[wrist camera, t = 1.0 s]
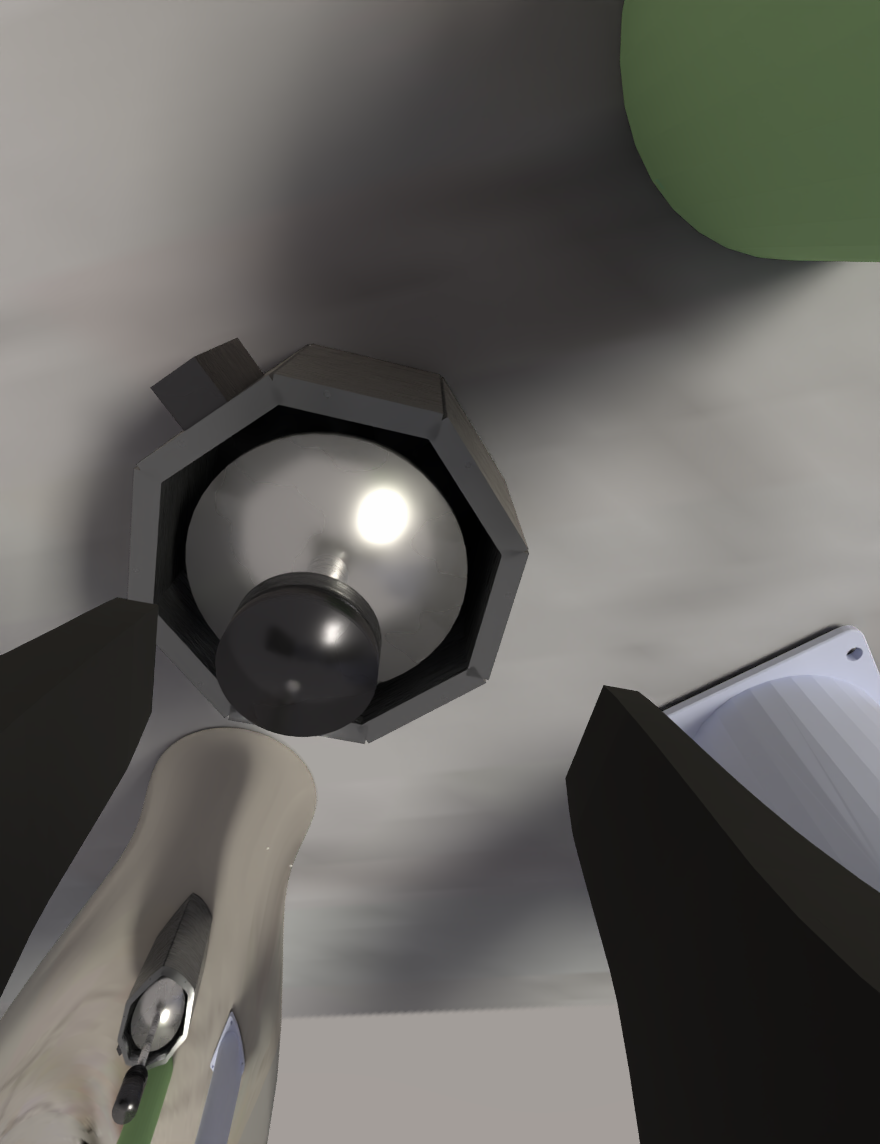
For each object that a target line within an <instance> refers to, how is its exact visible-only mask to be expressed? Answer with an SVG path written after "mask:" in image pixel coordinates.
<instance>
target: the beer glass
mask: <svg viewBox="0 0 880 1144" xmlns="http://www.w3.org/2000/svg"><path fill="white" fill-rule="evenodd" d="M316 802H317V796H316V788H315V783H314V780H313V778H312V775H311V773H310V771H309V769H308V768H307V766H306V765H305V764H304V762H303V761H302V760H301V759H300V758H299V757H298V756H297V755H296V754H295V753H294V752H293V751H292V750H291V749H289V748H288V747H287V746H285V745H284V744H282V743H280V742H279V741H277V740H275V739H273V738H271V737H269V736H266V735H264V734H261V733H258V732H254V731H251V730H246V729H240V728H211V729H206V730H201V731H198V732H195V733H192V734H189V735H187V736H185V737H183V738H181V739H179V740H178V741H176V742H175V743H174V744H172V745H171V746H170V747H169V748H168V749H167V750H166V751H165V752H164V753H163V754H162V755H161V757H160V758H159V760H158V761H157V763H156V765H155V767H154V769H153V772H152V774H151V777H150V781H149V784H148V788H147V792H146V796H145V800H144V804H143V808H142V811H141V815H140V818H139V821H138V824H137V827H136V829H135V831H134V833H133V835H132V838H131V840H130V842H129V843H128V845H127V847H126V848H125V850H124V852H123V854H122V855H121V857H120V859H119V860H118V861H117V863H116V864H115V866H114V867H113V868H112V870H111V871H110V872H109V874H108V875H107V876H106V878H105V879H104V881H103V882H102V883H101V885H100V886H99V887H98V889H97V890H96V891H95V892H94V894H93V895H92V896H91V898H90V899H89V900H88V901H87V903H86V904H85V905H84V906H83V908H82V909H81V910H80V912H79V913H78V914H77V915H76V917H75V918H74V919H73V921H72V922H71V923H70V924H69V926H68V927H67V928H66V930H65V931H64V932H63V934H62V935H61V936H60V938H59V939H58V940H57V941H56V943H55V944H54V945H53V947H52V948H51V949H50V951H49V952H48V953H47V955H46V956H45V957H44V959H43V960H42V961H41V962H40V964H39V965H38V966H37V968H36V969H35V971H34V972H33V974H32V975H31V976H30V978H29V979H28V981H27V982H26V984H25V985H24V986H23V988H22V989H21V991H20V992H19V994H18V995H17V996H16V998H15V999H14V1001H13V1002H12V1004H11V1005H10V1006H9V1008H8V1009H7V1011H6V1012H5V1014H4V1015H3V1016H2V1018H1V1019H0V1144H267V1141H268V1134H269V1128H270V1121H271V1115H272V1108H273V1101H274V1095H275V1089H276V1082H277V1073H278V1060H279V1047H280V1032H281V1018H282V984H283V933H284V911H285V899H286V892H287V886H288V880H289V877H290V873H291V869H292V866H293V863H294V861H295V858H296V855H297V853H298V851H299V849H300V847H301V845H302V842H303V840H304V838H305V836H306V834H307V832H308V829H309V827H310V825H311V822H312V820H313V817H314V813H315V809H316Z"/></svg>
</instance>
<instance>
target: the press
mask: <svg viewBox="0 0 880 1144" xmlns="http://www.w3.org/2000/svg"><path fill="white" fill-rule="evenodd" d="M151 389H152V390H153V392H154V393H155V394H156V395H157V397H158V398H159V399H160V401H161V402H162V403H163V404H164V406H165V407H166V408H167V409H168V411H169V412H170V413H171V415H172V416H173V417H174V418H175V420H176V421H177V422H178V423H179V425H180V426H181V427H182V429H183V431H182V432H180V433H179V434H178V435H176V436H175V437H173V438H172V439H171V440H169V441H168V442H167V443H165V444H164V445H162V446H161V447H160V448H158V449H157V450H155V451H154V452H153V453H151V454H150V455H149V456H147V457H146V458H144V459H143V460H142V461H140V462H139V463H138V464H136V465H137V467H136V468H134V474H133V494H132V514H131V534H130V555H129V575H128V595H127V599H129V600H134V601H140V602H145V603H151V604H156V605H159V606H158V621H157V636H156V645H157V646H158V647H159V648H160V649H161V650H162V651H163V652H164V653H165V655H166V656H167V657H168V658H169V659H170V660H171V661H172V662H173V663H174V664H175V665H176V666H177V667H178V668H179V670H180V671H181V672H182V673H183V674H184V675H185V676H186V677H187V678H188V679H189V680H190V681H191V682H192V683H193V685H194V686H195V687H196V688H197V689H198V690H199V691H200V692H201V693H202V694H203V695H204V696H205V697H206V698H207V700H208V701H209V702H210V703H211V704H212V705H213V706H214V707H215V708H216V709H217V710H218V711H219V712H220V714H221V715H222V716H223V717H224V718H225V717H227V716H229V720H232V721H238V722H243V723H249V724H254V723H252V722H250V721H249V720H247V719H246V718H245V717H243V716H242V715H241V714H240V713H239V712H238V711H236V710H235V709H234V708H233V706H232V705H231V704H230V703H229V701H228V700H227V699H226V697H225V695H224V694H223V692H222V690H221V688H220V685H219V683H218V679H217V676H216V669H215V657H216V652H217V647H218V645H219V642H220V639H219V638H218V637H217V636H216V634H215V633H214V632H213V630H212V629H211V628H210V627H209V625H208V624H207V622H206V621H205V619H204V617H203V615H202V614H201V612H200V610H199V608H198V606H197V604H196V601H195V599H194V597H193V594H192V591H191V587H190V584H189V580H188V575H187V568H186V541H187V534H188V528H189V525H190V522H191V519H192V516H193V513H194V510H195V508H196V506H197V504H198V502H199V500H200V498H201V496H202V495H203V493H204V492H205V491H206V489H207V488H208V486H209V485H210V484H211V482H212V481H213V480H214V479H215V478H216V477H217V476H218V475H219V474H220V473H221V472H222V471H223V470H224V469H225V468H226V467H227V465H228V464H230V463H231V462H232V461H233V460H235V459H236V458H237V457H239V456H240V455H241V454H243V453H244V452H246V451H248V450H249V449H251V448H253V447H255V446H257V445H258V444H260V443H263V442H266V441H268V440H271V439H273V438H276V437H280V436H284V435H288V434H292V433H297V432H308V431H336V432H342V433H348V434H354V435H358V436H361V437H364V438H368V439H371V440H374V441H376V442H379V443H381V444H383V445H386V446H388V447H390V448H392V449H394V450H395V451H397V452H399V453H400V454H402V455H404V456H405V457H407V458H409V459H410V460H411V461H412V462H414V463H415V464H416V465H417V466H419V467H420V468H421V469H422V470H424V472H425V473H426V474H427V475H428V476H429V477H430V478H431V479H432V480H433V481H434V482H435V483H436V484H437V485H438V487H439V488H440V489H441V491H442V492H443V493H444V495H445V496H446V497H447V499H448V501H449V503H450V505H451V506H452V508H453V510H454V512H455V514H456V516H457V519H458V522H459V524H460V527H461V530H462V534H463V538H464V543H465V548H466V557H467V585H466V590H465V595H464V600H463V603H462V606H461V609H460V611H459V614H458V617H457V619H456V620H455V622H454V624H453V626H452V628H451V630H450V631H449V633H448V634H447V635H446V637H445V638H444V640H443V641H442V642H441V644H440V645H439V646H438V647H437V648H436V649H435V650H434V651H433V652H432V653H431V654H430V655H429V656H428V657H426V658H425V659H424V660H423V661H421V662H420V663H419V664H418V665H416V666H414V667H413V668H411V669H410V670H408V671H406V672H405V673H403V674H401V675H399V676H396V677H394V678H392V679H390V680H387V681H384V682H381V683H378V684H377V686H376V690H375V693H374V696H373V698H372V700H371V702H370V703H369V705H368V706H367V708H366V709H365V710H364V711H363V713H362V714H361V715H360V716H359V717H358V718H356V719H355V720H354V721H353V722H351V723H350V724H348V725H346V726H345V727H343V728H341V729H339V730H336V731H334V732H331V733H327V734H323V735H318V736H323V737H328V738H334V739H340V740H345V741H351V742H357V743H362V744H365V740H367V742H368V743H370V742H372V741H374V740H376V739H378V738H380V737H382V736H384V735H386V734H388V733H390V732H392V731H394V730H396V729H398V728H400V727H402V726H403V725H405V724H407V723H409V722H411V721H413V720H415V719H417V718H419V717H421V716H423V715H425V714H427V713H429V712H431V711H433V710H434V709H436V708H438V707H440V706H442V705H444V704H446V703H448V702H450V701H452V700H454V699H456V698H458V697H460V696H462V695H464V694H465V693H467V692H469V691H471V690H473V689H475V688H477V687H479V686H481V685H483V684H485V683H486V681H485V679H487V680H489V677H490V674H491V671H492V668H493V665H494V662H495V658H496V655H497V652H498V649H499V646H500V643H501V640H502V636H503V633H504V630H505V627H506V624H507V621H508V618H509V614H510V611H511V608H512V605H513V602H514V599H515V596H516V593H517V589H518V586H519V583H520V580H521V577H522V574H523V571H524V567H525V564H526V561H527V558H528V555H529V552H528V546H527V544H526V541H525V538H524V535H523V532H522V529H521V526H520V523H519V520H518V517H517V514H516V511H515V508H514V505H513V502H512V500H511V497H510V494H509V491H508V488H507V485H506V482H505V480H504V478H503V477H502V475H501V473H500V472H499V470H498V468H497V467H496V465H495V463H494V462H493V460H492V458H491V457H490V455H489V453H488V452H487V450H486V448H485V447H484V445H483V443H482V442H481V440H480V438H479V436H478V435H477V433H476V431H475V430H474V428H473V426H472V425H471V423H470V421H469V420H468V418H467V416H466V415H465V413H464V411H463V410H462V408H461V406H460V405H459V403H458V401H457V400H456V398H455V396H454V395H453V393H452V391H451V390H450V388H449V386H448V385H447V383H446V381H445V380H444V378H443V377H442V378H440V375H439V374H436V373H432V372H428V371H423V370H419V369H415V368H411V367H407V366H403V365H399V364H394V363H390V362H386V361H382V360H378V359H374V358H370V357H366V356H361V355H357V354H353V353H349V352H345V351H341V350H337V349H332V348H328V347H324V346H320V345H316V344H311V345H310V346H309V345H307V346H305V347H304V348H302V349H301V350H299V351H298V352H296V353H295V354H293V355H292V356H290V357H289V358H287V359H286V360H285V361H283V362H282V363H280V364H279V365H277V366H276V367H274V368H273V369H271V370H270V371H268V372H267V373H265V374H263V373H262V371H261V370H260V369H259V367H258V366H257V364H256V363H255V362H254V360H253V359H252V357H251V356H250V354H249V353H248V352H247V350H246V349H245V347H244V346H243V345H242V343H241V342H240V340H239V339H238V338H236V339H233V340H231V341H229V342H227V343H224V344H222V345H220V346H218V347H215V348H213V349H211V350H209V351H206V352H204V353H202V354H200V355H197V356H195V357H193V358H192V359H190V360H189V361H188V362H186V363H185V364H183V365H182V366H181V367H179V368H178V369H176V370H175V371H173V372H172V373H171V374H169V375H168V376H166V377H165V378H164V379H162V380H161V381H159V382H158V383H156V384H155V385H154V386H152V387H151Z"/></svg>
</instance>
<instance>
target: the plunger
mask: <svg viewBox="0 0 880 1144" xmlns="http://www.w3.org/2000/svg"><path fill="white" fill-rule="evenodd" d="M186 568H187V575H188V580H189V584H190V587H191V591H192V594H193V597H194V599H195V601H196V604H197V606H198V608H199V610H200V612H201V614H202V615H203V617H204V619H205V621H206V622H207V624H208V625H209V627H210V628H211V629H212V630H213V632H214V633H215V634H216V636H217V637H218V638H219V639H220V642H219V645H218V647H217V652H216V657H215V669H216V676H217V679H218V683H219V685H220V688H221V690H222V692H223V694H224V695H225V697H226V699H227V700H228V701H229V703H230V704H231V705H232V706H233V708H234V709H235V710H236V711H238V712H239V713H240V714H241V715H242V716H243V717H245V718H246V719H247V720H249V721H250V722H252V723H254V724H255V725H257V726H259V727H261V728H263V729H266V730H268V731H271V732H274V733H278V734H282V735H287V736H295V737H310V736H318V735H323V734H327V733H331V732H334V731H336V730H339V729H341V728H343V727H345V726H346V725H348V724H350V723H351V722H353V721H354V720H355V719H356V718H358V717H359V716H360V715H361V714H362V713H363V711H364V710H365V709H366V708H367V706H368V705H369V703H370V702H371V700H372V698H373V696H374V693H375V690H376V686H377V684H378V683H381V682H384V681H387V680H390V679H392V678H394V677H396V676H399V675H401V674H403V673H405V672H406V671H408V670H410V669H411V668H413V667H414V666H416V665H418V664H419V663H420V662H421V661H423V660H424V659H425V658H426V657H428V656H429V655H430V654H431V653H432V652H433V651H434V650H435V649H436V648H437V647H438V646H439V645H440V644H441V642H442V641H443V640H444V638H445V637H446V635H447V634H448V633H449V631H450V630H451V628H452V626H453V624H454V622H455V620H456V619H457V617H458V614H459V611H460V609H461V606H462V603H463V600H464V595H465V590H466V585H467V557H466V548H465V543H464V538H463V534H462V530H461V527H460V524H459V522H458V519H457V516H456V514H455V512H454V510H453V508H452V506H451V505H450V503H449V501H448V499H447V497H446V496H445V495H444V493H443V492H442V491H441V489H440V488H439V487H438V485H437V484H436V483H435V482H434V481H433V480H432V479H431V478H430V477H429V476H428V475H427V474H426V473H425V472H424V470H422V469H421V468H420V467H419V466H417V465H416V464H415V463H414V462H412V461H411V460H410V459H409V458H407V457H405V456H404V455H402V454H400V453H399V452H397V451H395V450H394V449H392V448H390V447H388V446H386V445H383V444H381V443H379V442H376V441H374V440H371V439H368V438H364V437H361V436H358V435H354V434H348V433H342V432H336V431H308V432H297V433H292V434H288V435H284V436H280V437H276V438H273V439H271V440H268V441H266V442H263V443H260V444H258V445H257V446H255V447H253V448H251V449H249V450H248V451H246V452H244V453H243V454H241V455H240V456H239V457H237V458H236V459H235V460H233V461H232V462H231V463H230V464H228V465H227V467H226V468H225V469H224V470H223V471H222V472H221V473H220V474H219V475H218V476H217V477H216V478H215V479H214V480H213V481H212V482H211V484H210V485H209V486H208V488H207V489H206V491H205V492H204V493H203V495H202V496H201V498H200V500H199V502H198V504H197V506H196V508H195V510H194V513H193V516H192V519H191V522H190V525H189V528H188V534H187V541H186Z"/></svg>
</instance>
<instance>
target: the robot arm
mask: <svg viewBox="0 0 880 1144" xmlns="http://www.w3.org/2000/svg"><path fill="white" fill-rule="evenodd" d="M158 606H159V605H156V604H151V603H145V602H140V601H134V600H129V599H123V598H118V597H117V598H115V599H113V600H111V601H108V602H106V603H104V604H102V605H100V606H98V607H96V608H94V609H92V610H90V611H88V612H86V613H84V614H82V615H80V616H78V617H76V618H75V619H73V620H71V621H69V622H67V623H65V624H63V625H61V626H59V627H57V628H55V629H53V630H51V631H49V632H47V633H45V634H43V635H41V636H39V637H37V638H35V639H33V640H31V641H29V642H27V643H25V644H23V645H21V646H19V647H17V648H15V649H13V650H11V651H9V652H7V653H5V654H3V655H0V997H1V995H2V993H3V991H4V989H5V987H6V985H7V982H8V980H9V978H10V976H11V974H12V972H13V970H14V968H15V966H16V964H17V961H18V959H19V957H20V955H21V953H22V951H23V949H24V947H25V945H26V943H27V940H28V938H29V936H30V934H31V932H32V930H33V928H34V927H35V925H36V923H37V921H38V919H39V917H40V916H41V914H42V912H43V910H44V908H45V906H46V905H47V903H48V901H49V899H50V897H51V896H52V894H53V892H54V891H55V889H56V887H57V886H58V884H59V882H60V881H61V879H62V877H63V876H64V874H65V872H66V871H67V869H68V867H69V866H70V864H71V862H72V861H73V859H74V857H75V856H76V854H77V852H78V851H79V849H80V847H81V846H82V844H83V842H84V841H85V839H86V837H87V836H88V834H89V832H90V831H91V829H92V827H93V826H94V824H95V822H96V821H97V819H98V817H99V816H100V814H101V812H102V811H103V809H104V807H105V806H106V804H107V802H108V801H109V799H110V797H111V795H112V794H113V792H114V790H115V789H116V787H117V785H118V784H119V782H120V780H121V778H122V777H123V775H124V773H125V771H126V770H127V768H128V766H129V763H130V761H131V759H132V757H133V754H134V752H135V750H136V748H137V745H138V743H139V741H140V738H141V736H142V734H143V731H144V729H145V726H146V724H147V722H148V719H149V717H150V714H151V712H152V697H153V682H154V667H155V652H156V636H157V621H158ZM852 648H856V649H855V650H854V652H852V653H851V654H847V653H848V651H849V650H851V649H852ZM566 787H567V795H568V804H569V812H570V819H571V825H572V832H573V837H574V841H575V845H576V849H577V853H578V856H579V860H580V864H581V868H582V871H583V875H584V879H585V882H586V886H587V890H588V893H589V897H590V900H591V904H592V908H593V911H594V915H595V918H596V922H597V926H598V929H599V933H600V936H601V940H602V943H603V947H604V951H605V954H606V958H607V961H608V965H609V969H610V973H611V977H612V981H613V986H614V990H615V994H616V999H617V1003H618V1009H619V1015H620V1020H621V1026H622V1031H623V1038H624V1043H625V1049H626V1054H627V1061H628V1066H629V1072H630V1079H631V1086H632V1092H633V1099H634V1106H635V1112H636V1119H637V1126H638V1133H639V1139H640V1144H880V674H879V671H878V669H877V666H876V664H875V661H874V659H873V656H872V654H871V651H870V649H869V646H868V644H867V641H866V639H865V636H864V635H863V633H862V632H861V631H860V630H859V629H857V628H856V627H854V626H852V625H844V626H841V627H839V628H836V629H834V630H832V631H830V632H828V633H826V634H824V635H822V636H820V637H818V638H815V639H813V640H811V641H809V642H807V643H805V644H803V645H801V646H799V647H797V648H794V649H792V650H790V651H788V652H786V653H784V654H782V655H780V656H778V657H775V658H773V659H771V660H769V661H767V662H765V663H763V664H761V665H759V666H757V667H754V668H752V669H750V670H748V671H746V672H744V673H742V674H740V675H738V676H736V677H733V678H731V679H729V680H727V681H725V682H723V683H721V684H719V685H717V686H715V687H712V688H710V689H708V690H706V691H704V692H702V693H700V694H698V695H696V696H694V697H691V698H689V699H687V700H685V701H683V702H681V703H679V704H677V705H675V706H672V707H670V708H668V709H666V710H664V711H661V710H660V709H659V708H658V707H657V706H656V705H654V704H653V703H652V702H651V701H650V700H648V699H647V698H646V697H645V696H643V695H642V694H641V693H639V692H638V691H633V690H627V689H622V688H616V687H611V686H605V685H603V688H602V690H601V693H600V695H599V698H598V700H597V703H596V705H595V707H594V710H593V712H592V715H591V717H590V720H589V722H588V725H587V727H586V729H585V732H584V734H583V737H582V739H581V742H580V744H579V747H578V749H577V751H576V754H575V756H574V759H573V761H572V764H571V766H570V769H569V771H568V774H567V776H566Z"/></svg>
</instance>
